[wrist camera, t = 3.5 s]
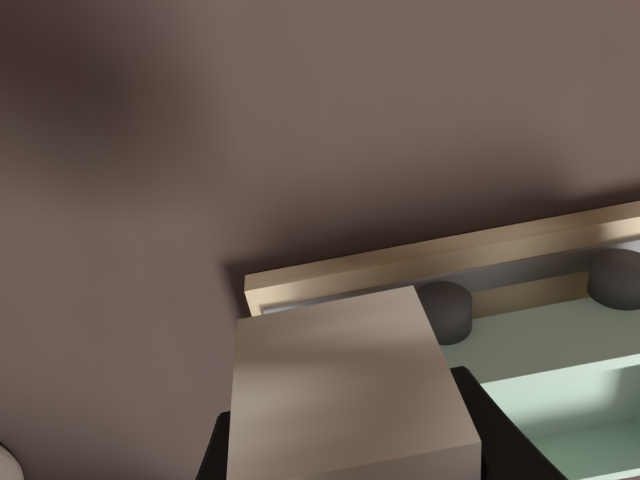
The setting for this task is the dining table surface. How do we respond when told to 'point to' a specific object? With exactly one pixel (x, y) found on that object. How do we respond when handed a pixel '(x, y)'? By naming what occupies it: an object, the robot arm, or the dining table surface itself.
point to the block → (347, 396)
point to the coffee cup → (9, 466)
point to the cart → (559, 366)
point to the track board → (465, 265)
